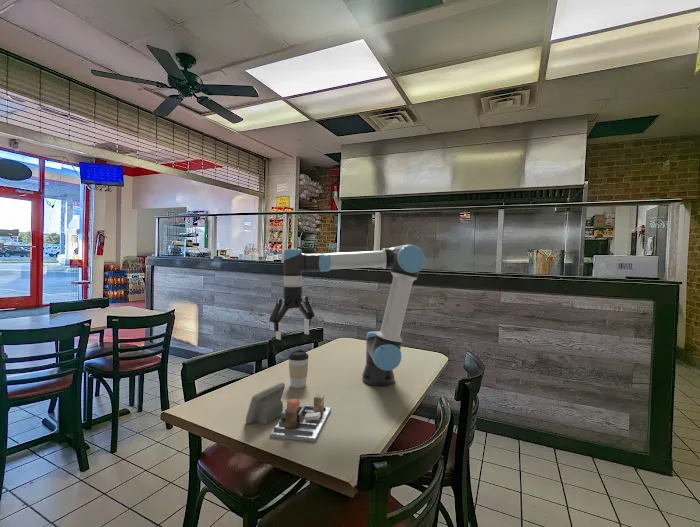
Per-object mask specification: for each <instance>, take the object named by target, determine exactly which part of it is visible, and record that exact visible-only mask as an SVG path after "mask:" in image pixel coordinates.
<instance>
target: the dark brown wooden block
mask: <svg viewBox="0 0 700 527" xmlns="http://www.w3.org/2000/svg"><path fill="white" fill-rule="evenodd" d="M296 427H297V409H294V408H288V409H287V411H286V412H285V428H294V429H295V428H296Z"/></svg>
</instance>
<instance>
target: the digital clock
mask: <svg viewBox="0 0 700 527" xmlns="http://www.w3.org/2000/svg"><path fill="white" fill-rule="evenodd" d="M285 388H286V383H284V382H278V383H276V384H274V385H271V386H270V387H268V388H266V389H263V390H262V391H260V392H257V393H255V394H254V395H253V396H252V397H251V400H250V402H249V406H248V410H247V413H246V415H245V416H246V417H245V423H246V424H248V425H249V424H251V425H252V423H255V422H256V423H260V424H263V425H268V424H269V423H271V422H272V421H274V420H275V419H278V418H279V417H281V412H282V411H283V410H284V407H283V406H284V405H283V404H284V403H283V401H282V397H283V394H284V391H285Z"/></svg>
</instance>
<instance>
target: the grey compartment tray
mask: <svg viewBox="0 0 700 527" xmlns="http://www.w3.org/2000/svg"><path fill="white" fill-rule="evenodd" d="M286 411H287V405H286V406H285V407H284V408H283V411H282V412H281V415H280V419H279V421H278V422H277V424H276V425H275V426H274V427H273V429H272V431H271V432H270V433H269V435H270V436H269V437H270V438H273V439H274V438H275V439H281V440H282V439H283V440H291V441H293V440H294V441H300V442H312V443H316V441H317V440H318V438H319V435H320V434H321V432H322V430H323V427H324V425H325V424H326V421H327V419H328V417H329V415H330V413H331V411H332V408H331V407H327V406H324V411H323V412H320V413H321V416H320V418H319V419H317V420H305V419H304V417H305V415H306V414H307V413H314V412H316V411H314V405H308V404H300V410H299V411H298V412H297V427H296V428H295V429H294V428H285V412H286Z"/></svg>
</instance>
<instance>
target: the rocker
mask: <svg viewBox="0 0 700 527" xmlns="http://www.w3.org/2000/svg"><path fill="white" fill-rule="evenodd" d="M320 416H321V413H320V412H314V413H307V414H306V415H305V417H304V419H305V420H317V419H319V418H320Z"/></svg>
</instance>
